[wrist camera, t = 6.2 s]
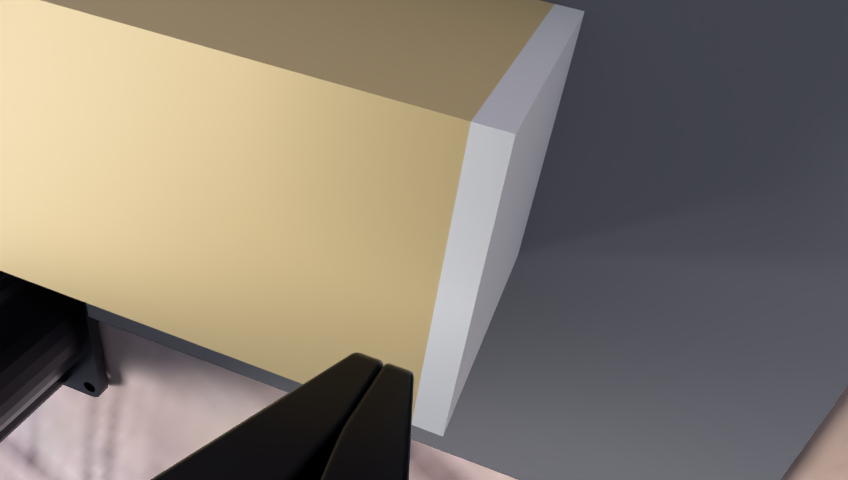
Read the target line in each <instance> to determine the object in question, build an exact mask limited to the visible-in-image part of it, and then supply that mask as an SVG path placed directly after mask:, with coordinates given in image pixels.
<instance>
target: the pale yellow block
mask: <svg viewBox="0 0 848 480" xmlns="http://www.w3.org/2000/svg"><path fill="white" fill-rule="evenodd" d="M584 12H585V11H582V10H577V9H573V8H569V7H565V6H561V5H557V4H553V3H549V2H544V1H540V0H0V271H3V272H5V273H8V274H11V275H13V276H16V277H19V278H21V279H24V280H27V281H29V282H32V283H35V284H37V285H40V286H43V287H45V288H48V289H51V290H53V291H56V292H59V293H61V294H64V295H67V296H69V297H72V298H75V299H77V300H80V301H83V302H85V303H88V304H91V305H93V306H96V307H99V308H101V309H104V310H107V311H109V312H112V313H115V314H117V315H120V316H123V317H125V318H128V319H131V320H133V321H136V322H139V323H141V324H144V325H147V326H149V327H152V328H155V329H157V330H160V331H163V332H165V333H168V334H171V335H173V336H176V337H179V338H181V339H184V340H187V341H189V342H192V343H195V344H197V345H200V346H203V347H205V348H208V349H211V350H213V351H216V352H219V353H221V354H224V355H227V356H229V357H232V358H235V359H237V360H240V361H243V362H245V363H248V364H251V365H253V366H256V367H259V368H261V369H264V370H267V371H269V372H272V373H275V374H277V375H280V376H283V377H285V378H288V379H291V380H293V381H296V382H299V383H301V384H304V383H306V382H307V381H309V380H310V379H312V378H314V377H315V376H317V375H318V374H320V373H322V372H323V371H325V370H326V369H328V368H330V367H331V366H333V365H334V364H336V363H337V362H339V361H341V360H342V359H344V358H345V357H347V356H349V355H350V354H352V353H356V352H359V353H362V354H365V355H368V356H371V357H373V358H376V359H379V360H381V361H382V362H383V365H385V364H387V363H390V364H393V365H396V366H398V367H401V368H404V369H407V370H410V371H411V372H412V373H413V375H414V386H413V405H412V424H411V425H413V426H416V427H419V428H421V429H424V430H427V431H429V432H432V433H435V434H437V435H440V436H443V435H444V433H445V430H446V428H447V426H448V423H449V421H450V418H451V416H452V413H453V411H454V409H455V406H456V404H457V401H458V399H459V396H460V394H461V392H462V389H463V387H464V384H465V382H466V380H467V377H468V375H469V372H470V370H471V367H472V365H473V363H474V360H475V358H476V355H477V353H478V350H479V348H480V346H481V343H482V341H483V338H484V336H485V334H486V331H487V329H488V326H489V324H490V321H491V319H492V317H493V314H494V312H495V309H496V307H497V305H498V302H499V300H500V297H501V295H502V292H503V290H504V288H505V285H506V283H507V280H508V278H509V275H510V273H511V271H512V268H513V266H514V263H515V261H516V259H517V256H518V253H519V249H520V246H521V242H522V238H523V235H524V231H525V228H526V224H527V220H528V217H529V213H530V209H531V206H532V202H533V198H534V195H535V191H536V187H537V184H538V180H539V176H540V173H541V169H542V165H543V162H544V158H545V154H546V151H547V147H548V143H549V140H550V136H551V133H552V129H553V125H554V122H555V118H556V114H557V111H558V107H559V103H560V100H561V96H562V92H563V89H564V85H565V81H566V78H567V74H568V70H569V67H570V63H571V59H572V56H573V52H574V48H575V45H576V41H577V38H578V34H579V30H580V27H581V23H582V19H583V16H584Z"/></svg>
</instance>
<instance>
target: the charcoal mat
mask: <svg viewBox="0 0 848 480" xmlns="http://www.w3.org/2000/svg"><path fill="white" fill-rule="evenodd" d="M540 1H544V2H549V3H553V4H557V5H561V6H565V7H569V8H573V9H577V10H582V11H585V12H584V16H583V19H582V23H581V27H580V30H579V34H578V38H577V41H576V45H575V48H574V52H573V56H572V59H571V63H570V67H569V70H568V74H567V78H566V81H565V85H564V89H563V92H562V96H561V100H560V103H559V107H558V111H557V114H556V118H555V122H554V125H553V129H552V133H551V136H550V140H549V143H548V147H547V151H546V154H545V158H544V162H543V165H542V169H541V173H540V176H539V180H538V184H537V187H536V191H535V195H534V198H533V202H532V206H531V209H530V213H529V217H528V220H527V224H526V228H525V231H524V235H523V238H522V242H521V246H520V249H519V253H518V256H517V259H516V261H515V263H514V266H513V268H512V271H511V273H510V275H509V278H508V280H507V283H506V285H505V288H504V290H503V292H502V295H501V297H500V300H499V302H498V305H497V307H496V309H495V312H494V314H493V317H492V319H491V321H490V324H489V326H488V329H487V331H486V334H485V336H484V338H483V341H482V343H481V346H480V348H479V350H478V353H477V355H476V358H475V360H474V363H473V365H472V367H471V370H470V372H469V375H468V377H467V380H466V382H465V384H464V387H463V389H462V392H461V394H460V396H459V399H458V401H457V404H456V406H455V409H454V411H453V413H452V416H451V418H450V421H449V423H448V426H447V428H446V430H445V433H444V435H443V436H440V435H437V434H435V433H432V432H429V431H427V430H424V429H421V428H419V427H416V426H413V425H411V439H413V440H415V441H418V442H421V443H423V444H426V445H428V446H431V447H434V448H436V449H439V450H442V451H444V452H447V453H450V454H452V455H455V456H457V457H460V458H463V459H465V460H468V461H471V462H473V463H476V464H479V465H481V466H484V467H487V468H489V469H492V470H494V471H497V472H500V473H502V474H505V475H508V476H510V477H513V478H516V479H518V480H781V478H782V477H783V476H784V474H785V473H786V471H787V470H788V469H789V467H790V466H791V464H792V463H793V462H794V460H795V459H796V457H797V456H798V455H799V453H800V452H801V451H802V449H803V448H804V446H805V445H806V444H807V442H808V441H809V439H810V438H811V437H812V435H813V434H814V432H815V431H816V430H817V428H818V427H819V425H820V424H821V423H822V421H823V420H824V418H825V417H826V416H827V414H828V413H829V412H830V410H831V409H832V407H833V406H834V405H835V403H836V402H837V400H838V399H839V398H840V396H841V395H842V393H843V392H844V391H845V389H846V388H847V386H848V0H540ZM86 306H87V311H88V316H89V317H91V318H93V319H96V320H99V321H101V322H104V323H106V324H109V325H112V326H114V327H117V328H120V329H122V330H125V331H128V332H130V333H133V334H136V335H138V336H141V337H143V338H146V339H149V340H151V341H154V342H157V343H159V344H162V345H165V346H167V347H170V348H172V349H175V350H178V351H180V352H183V353H186V354H188V355H191V356H194V357H196V358H199V359H202V360H204V361H207V362H209V363H212V364H215V365H217V366H220V367H223V368H225V369H228V370H231V371H233V372H236V373H238V374H241V375H244V376H246V377H249V378H252V379H254V380H257V381H260V382H262V383H265V384H267V385H270V386H273V387H275V388H278V389H281V390H283V391H286V392H289V393H290V392H291V391H293V390H294V389H296V388H298V387H299V386H301V385H302V384H301V383H299V382H296V381H293V380H291V379H288V378H285V377H283V376H280V375H277V374H275V373H272V372H269V371H267V370H264V369H261V368H259V367H256V366H253V365H251V364H248V363H245V362H243V361H240V360H237V359H235V358H232V357H229V356H227V355H224V354H221V353H219V352H216V351H213V350H211V349H208V348H205V347H203V346H200V345H197V344H195V343H192V342H189V341H187V340H184V339H181V338H179V337H176V336H173V335H171V334H168V333H165V332H163V331H160V330H157V329H155V328H152V327H149V326H147V325H144V324H141V323H139V322H136V321H133V320H131V319H128V318H125V317H123V316H120V315H117V314H115V313H112V312H109V311H107V310H104V309H101V308H99V307H96V306H93V305H91V304H88V303H86Z"/></svg>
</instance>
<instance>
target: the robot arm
mask: <svg viewBox="0 0 848 480" xmlns="http://www.w3.org/2000/svg"><path fill="white" fill-rule="evenodd" d="M62 385H65V386H68V387H70V388H73V389H75V390H78V391H80V392H83V393H85V394H88V395H90V396H93V397H99V396H100V395H101V394H102V393H103V392H104V391H105V390H106V389H107V388H108V382H107V377H106V371H105V366H104V360H103V355H102V349H101V344H100V338H99V333H98V327H97V322H96V319H93V318H91V317H89V316H88V311H87V306H86V303H85V302H83V301H80V300H77V299H75V298H72V297H69V296H67V295H64V294H61V293H59V292H56V291H53V290H51V289H48V288H45V287H43V286H40V285H37V284H35V283H32V282H29V281H27V280H24V279H21V278H19V277H16V276H13V275H11V274H8V273H5V272H3V271H0V442H2V441H3V440H4V439H5V438H6V437H7V436H8V435H9V434H10V433H11V432H12V431H13V430H15V429H16V428H17V427H18V426H19V425H20V424H21V423H22V422H23V421H24V420H25V419H26V418H27V417H29V416H30V415H31V414H32V413H33V412H34V411H35V410H36V409H37V408H38V407H39V406H40V405H41V404H43V403H44V402H45V401H46V400H47V399H48V398H49V397H50V396H51V395H52V394H53V393H54V392H55V391H57V390H58V389H59V388H60V387H61V386H62ZM413 386H414V375H413V373H412V372H411V371H410V370H407V369H404V368H401V367H398V366H396V365H393V364H390V363H387V364H385V365H383V362H382V361H381V360H379V359H376V358H373V357H371V356H368V355H365V354H362V353H359V352H356V353H352V354H350V355H349V356H347V357H345V358H344V359H342V360H341V361H339V362H337V363H336V364H334V365H333V366H331V367H330V368H328V369H326V370H325V371H323V372H322V373H320V374H318V375H317V376H315V377H314V378H312V379H310V380H309V381H307V382H306V383H304V384H302V385H301V386H299V387H298V388H296V389H294V390H293V391H291V392H290V393H288V394H286V395H285V396H283V397H282V398H280V399H279V400H277V401H275V402H274V403H272V404H271V405H269V406H267V407H266V408H264V409H263V410H261V411H259V412H258V413H256V414H255V415H253V416H251V417H250V418H248V419H247V420H245V421H243V422H242V423H240V424H239V425H237V426H235V427H234V428H232V429H231V430H229V431H228V432H226V433H224V434H223V435H221V436H220V437H218V438H216V439H215V440H213V441H212V442H210V443H208V444H207V445H205V446H204V447H202V448H200V449H199V450H197V451H196V452H194V453H192V454H191V455H189V456H188V457H186V458H184V459H183V460H181V461H180V462H178V463H177V464H175V465H173V466H172V467H170V468H169V469H167V470H165V471H164V472H162V473H161V474H159V475H157V476H156V477H154V478H153V479H151V480H409V462H410V443H411V424H412V405H413Z"/></svg>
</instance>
